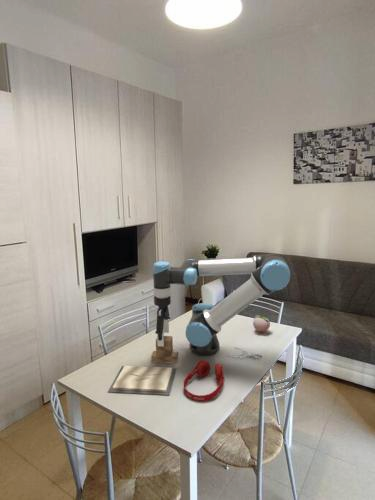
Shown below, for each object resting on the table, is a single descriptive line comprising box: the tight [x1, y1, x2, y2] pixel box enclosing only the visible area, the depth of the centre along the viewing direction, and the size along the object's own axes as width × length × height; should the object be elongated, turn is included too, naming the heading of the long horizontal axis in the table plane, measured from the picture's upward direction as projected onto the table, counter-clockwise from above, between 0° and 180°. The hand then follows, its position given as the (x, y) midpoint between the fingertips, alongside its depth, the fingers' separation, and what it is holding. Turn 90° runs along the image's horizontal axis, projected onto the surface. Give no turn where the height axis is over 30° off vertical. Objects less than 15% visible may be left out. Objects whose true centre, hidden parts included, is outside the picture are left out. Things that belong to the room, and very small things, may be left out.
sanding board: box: [107, 365, 177, 397], centre depth 140 cm, size 25×19×2 cm
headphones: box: [182, 359, 225, 402], centre depth 134 cm, size 15×7×20 cm
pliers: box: [227, 346, 263, 361], centre depth 158 cm, size 10×2×15 cm
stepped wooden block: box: [150, 335, 179, 364], centre depth 155 cm, size 12×5×11 cm, turn 84°
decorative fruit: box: [252, 315, 271, 333], centre depth 181 cm, size 9×8×10 cm
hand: (163, 338), depth 154 cm, fingers open, 13 cm apart
